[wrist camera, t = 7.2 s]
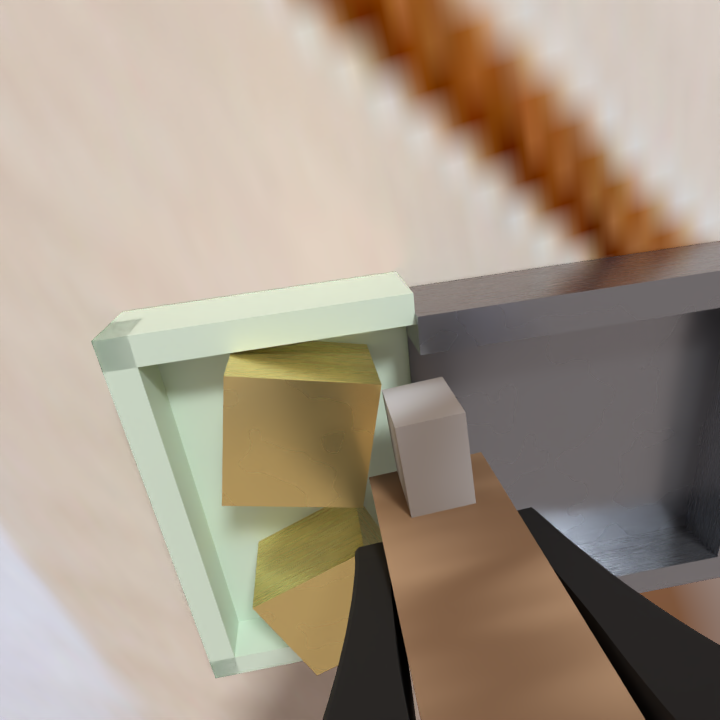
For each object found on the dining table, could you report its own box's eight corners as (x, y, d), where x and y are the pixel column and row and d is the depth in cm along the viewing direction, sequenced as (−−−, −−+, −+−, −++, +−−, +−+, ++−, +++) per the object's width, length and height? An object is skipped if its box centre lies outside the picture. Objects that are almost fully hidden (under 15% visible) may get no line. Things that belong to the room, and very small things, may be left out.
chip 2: (353, 491, 15) (364, 551, 13) (402, 560, 17) (419, 625, 14) (258, 541, 16) (252, 608, 13) (314, 605, 17) (317, 675, 15)
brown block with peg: (472, 369, 12) (677, 623, 5) (496, 598, 15) (644, 932, 8) (351, 396, 12) (412, 686, 5) (400, 621, 15) (477, 976, 8)
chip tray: (395, 271, 14) (413, 293, 12) (423, 581, 19) (438, 634, 17) (122, 311, 13) (91, 341, 11) (224, 619, 18) (215, 678, 16)
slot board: (743, 237, 15) (827, 253, 12) (686, 522, 19) (738, 573, 17) (397, 288, 14) (417, 316, 12) (421, 572, 18) (440, 632, 16)
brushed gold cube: (366, 344, 13) (381, 384, 11) (352, 452, 15) (363, 507, 12) (236, 335, 13) (223, 376, 11) (233, 448, 14) (221, 506, 12)
